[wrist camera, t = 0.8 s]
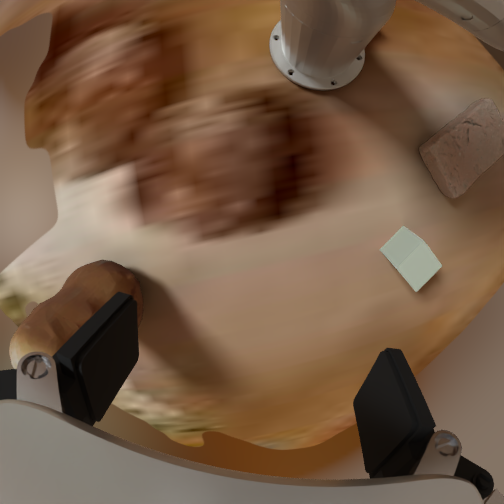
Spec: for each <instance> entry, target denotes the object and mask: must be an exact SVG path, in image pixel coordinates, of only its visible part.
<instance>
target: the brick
mask: <svg viewBox="0 0 504 504" xmlns="http://www.w3.org/2000/svg"><path fill="white" fill-rule="evenodd" d="M419 152H420V155H421V157H422V159H423V161H424V163H425V165H426V166H427V168H428V170H429V171H430V173H431V175H432V177H433V180H434V181H435V182H436V183H437V185H438V188H439V189H440V191H441V192H442V193H443V194H444V195H446V196H447V197H450V198H457V197H459V196H461V195H463V194H464V193H465V192H466V191H467V189H468V188H469V187H470V186H471V185H472V184H473V183H474V182H475V181H476V179H477V178H479V176H480V175H481V174H482V173H483V172H485V171H486V170H487V169H488V168H490V167H491V166H492V165H493V164H494V163H495V162H496V161H497V160H498V159H499V158H501V157H502V156H503V154H504V122H503V119H502V117H501V116H500V113H499V111H498V109H497V107H496V106H495V104H494V102H493V100H492V99H488V98H486V99H480V100H479V101H476V102H474V103H472V104H471V105H470V106H469V107H468V108H467V110H466V111H464V112H463V113H461V114H459V115H458V116H457V117H456V119H454V120H452V121H451V122H450V123H448V124H447V125H446V126H445V127H443V128H442V129H441V130H439V131H438V132H437V133H436V134H435V135H434V136H432V137H431V138H430V139H429V140H428V141H426V142H425V143H423V144H422V145H421V146H420V147H419Z"/></svg>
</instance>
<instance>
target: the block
mask: <svg viewBox="0 0 504 504" xmlns="http://www.w3.org/2000/svg"><path fill="white" fill-rule="evenodd" d="M380 251H381V252H382V253H383V254H384V255H385V256H386V258H387V259H388V260H389V261H390V262H391V263H392V264H393V266H394V267H395V268H396V269H397V270H398V271H399V273H400V274H401V275H402V276H403V277H404V278H405V280H406V281H407V282H408V283H409V284H410V286H411V287H412V288H413V289H414V290H415V292H417V291H418V290H419V289H420V288H421V287H422V286H423V285H424V284H425V283H426V282H427V281H428V280H429V279H430V278H431V277H432V276H433V275H434V274H435V273H436V272H437V271H438V270H439V269H440V268H441V267H442V265H441V263H440V262H439V261H438V259H437V258H436V256H435V255H434V254H433V252H432V251H431V249H430V248H429V247H428V245H427V244H426V243H425V241H424V240H423V239H421V238H420V237H418V236H417V235H416V234H414V233H413V232H411V231H410V230H409V229H407V228H406V227H404V226H402V227H401V228H400V229H399V230H398V231H397V233H396V234H395V235H394V236H393V237H392V238H391V239H390V240H389V241H388V242H387V243H386V244H385V245H384V246H383V247H382V248H381V249H380Z"/></svg>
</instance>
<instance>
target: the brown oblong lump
mask: <svg viewBox="0 0 504 504" xmlns="http://www.w3.org/2000/svg"><path fill="white" fill-rule="evenodd" d="M117 292H123V293H126V294H129V295H132V296H133V298H134V300H136V301H137V319H138V327H139V325H140V323H141V320H142V317H143V296H142V293H141V289H140V282H139V281H138V280H137V279H136V278H135V277H134V274H133V273H132V272H131V271H130V270H128V269H127V268H125V267H123V266H122V265H119V264H117V263H115V262H112V261H106V260H100V261H96V262H93V263H90V264H87V265H84V266H82V267H80V268H78V269H76V270H75V271H74V272H73V273H72V274H71V275H70V276H69V277H68V279H67V280H66V282H65V284H64V285H63V287H62V289H61V290H60V291H59V292H58V293H57V294H56V295H55V296H53V297H52V298H50V299H48V300H46V301H44V302H42V303H40V304H39V305H38V306H37V307H36V308H34V309H33V311H32V312H31V314H30V315H29V316H28V317H27V318H26V319H25V320H24V321H23V322H22V324H21V325H20V326H19V327H18V329H17V330H16V332H15V333H14V335H13V338H12V340H11V343H10V349H9V352H10V360H11V363H12V366H13V367H14V369H17V365H18V362H19V360H20V359H21V358H22V357H23V356H24V355H26V354H28V353H31V352H44V353H47V354H49V355H50V356H51V357H52V356H53V355H54V354H55V353H56V352H57V351H58V350H59V349H60V348H61V347H62V346H63V345H64V344H65V343H66V342H67V341H68V339H69V338H70V337H71V336H72V335H73V334H74V333H75V332H76V331H77V330H78V329H79V328H80V327H81V326H82V325H83V324H84V323H85V322H86V321H87V320H89V319H90V318H91V317H92V316H93V315H94V314H95V313H96V312H97V311H98V310H99V309H100V308H101V307H102V306H103V305H104V304H105V303H106V302H107V301H108V300H110V299H111V298H112V297H113V296H114V295H115V294H116V293H117Z"/></svg>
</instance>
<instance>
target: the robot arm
mask: <svg viewBox="0 0 504 504" xmlns="http://www.w3.org/2000/svg"><path fill="white" fill-rule="evenodd" d="M415 1H417V2H419V3H421V4H423V5H425V6H427V7H429V8H431V9H433V10H434V11H436V12H438V13H440V14H441V15H443V16H445V17H447V18H448V19H450V20H451V21H453V22H455V23H456V24H458V25H459V26H461V27H463V28H464V29H466V30H467V31H469V32H470V33H472V34H473V35H475V36H476V37H478V38H479V39H481V40H482V41H484V42H485V43H487V44H489V45H491V46H492V47H494V48H497V49H499V50H501V51H504V0H415ZM395 4H396V0H280V6H281V20H280V21H279V22H278V23H277V24H276V26H275V27H274V29H273V31H272V33H271V37H270V46H269V47H270V53H271V57H272V60H273V62H274V63H275V65H276V67H277V68H278V70H279V71H280V72H281V73H282V74H283V75H284V76H285V77H286V78H288V79H289V80H290V81H292V82H294V83H295V84H297V85H300V86H302V87H305V88H308V89H313V90H322V91H325V90H333V89H337V88H341V87H343V86H345V85H347V84H349V83H350V82H351V81H352V80H354V79H355V78H356V76H357V75H358V74H359V73H360V71H361V70H362V67H363V64H364V61H365V49H364V48H365V47H366V46H367V44H368V43H369V42H370V41H371V40H372V39H373V37H374V36H375V35H376V34H377V33H378V32H379V30H380V29H381V28H382V27H383V26H384V25H385V23H386V22H387V21H388V20H389V19H390V17H391V15H392V13H393V11H394V8H395ZM275 39H278V40H277V41H275ZM356 58H358V59H359V60H357V59H356ZM290 72H291V73H293V75H289V73H290ZM331 82H333V83H334V85H331ZM138 357H139V346H138V319H137V301H136V300H134V298H133V296H132V295H129V294H126V293H123V292H117V293H116V294H115V295H114V296H113V297H112V298H111V299H110V300H108V301H107V302H106V303H105V304H104V305H103V306H102V307H101V308H100V309H99V310H98V311H97V312H96V313H95V314H94V315H93V316H92V317H91V318H90V319H89V320H87V321H86V322H85V323H84V324H83V325H82V326H81V327H80V328H79V329H78V330H77V331H76V332H75V333H74V334H73V335H72V336H71V337H70V338H69V339H68V341H67V342H66V343H65V344H64V345H63V346H62V347H61V348H60V349H59V350H58V351H57V352H56V353H55V354H54V355H53V356H52V357H51V356H50V355H49V354H47V353H44V352H31V353H28V354H26V355H24V356H23V357H22V358H21V359H20V360H19V362H18V365H17V369H11V370H3V371H0V504H504V496H503V495H502V494H501V493H500V492H499V491H498V490H497V489H495V490H494V491H493V487H494V482H493V478H492V476H491V475H490V473H489V472H487V471H486V470H485V469H483V468H481V467H479V466H478V465H476V464H474V463H473V462H471V461H469V460H468V459H466V458H464V457H463V456H461V450H462V446H461V443H460V441H459V439H458V438H457V436H456V435H455V434H453V433H452V432H450V431H447V430H439V431H437V432H434V429H433V428H434V427H435V426H436V425H435V422H434V420H433V418H432V415H431V413H430V410H429V408H428V406H427V404H426V401H425V399H424V397H423V395H422V392H421V390H420V388H419V386H418V384H417V381H416V379H415V377H414V375H413V373H412V371H411V369H410V367H409V365H408V363H407V361H406V359H405V357H404V355H403V353H402V351H401V350H400V349H393V348H386V349H385V350H384V351H382V352H380V354H379V356H378V358H377V360H376V362H375V363H374V365H373V367H372V369H371V371H370V373H369V374H368V376H367V378H366V380H365V381H364V383H363V385H362V386H361V388H360V390H359V392H358V393H357V395H356V397H355V399H354V402H353V406H354V411H355V416H356V421H357V426H358V431H359V436H360V442H361V447H362V453H363V458H364V464H365V470H366V472H367V473H369V475H370V479H353V480H352V479H351V480H321V479H320V480H319V479H299V478H286V477H276V476H267V475H259V474H252V473H245V472H239V471H234V470H228V469H223V468H218V467H214V466H209V465H205V464H201V463H197V462H193V461H188V460H185V459H181V458H178V457H174V456H171V455H167V454H164V453H161V452H158V451H155V450H152V449H149V448H146V447H143V446H140V445H138V444H135V443H132V442H129V441H127V440H124V439H122V438H119V437H117V436H114V435H111V434H109V433H107V432H104V431H102V430H100V429H97V428H95V427H93V425H94V423H95V422H96V421H98V422H99V421H100V420H101V419H102V418H103V416H104V414H105V412H106V411H107V409H108V408H109V406H110V404H111V403H112V401H113V400H114V398H115V396H116V395H117V393H118V391H119V390H120V388H121V387H122V385H123V383H124V382H125V380H126V379H127V377H128V375H129V374H130V372H131V371H132V369H133V368H134V366H135V364H136V363H137V361H138Z"/></svg>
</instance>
